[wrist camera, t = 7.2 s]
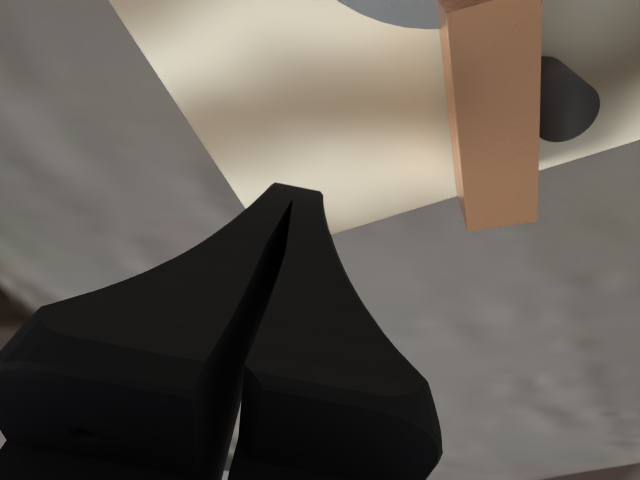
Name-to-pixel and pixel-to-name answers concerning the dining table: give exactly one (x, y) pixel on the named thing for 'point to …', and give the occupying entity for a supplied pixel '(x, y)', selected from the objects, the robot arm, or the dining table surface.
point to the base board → (369, 94)
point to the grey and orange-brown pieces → (484, 98)
